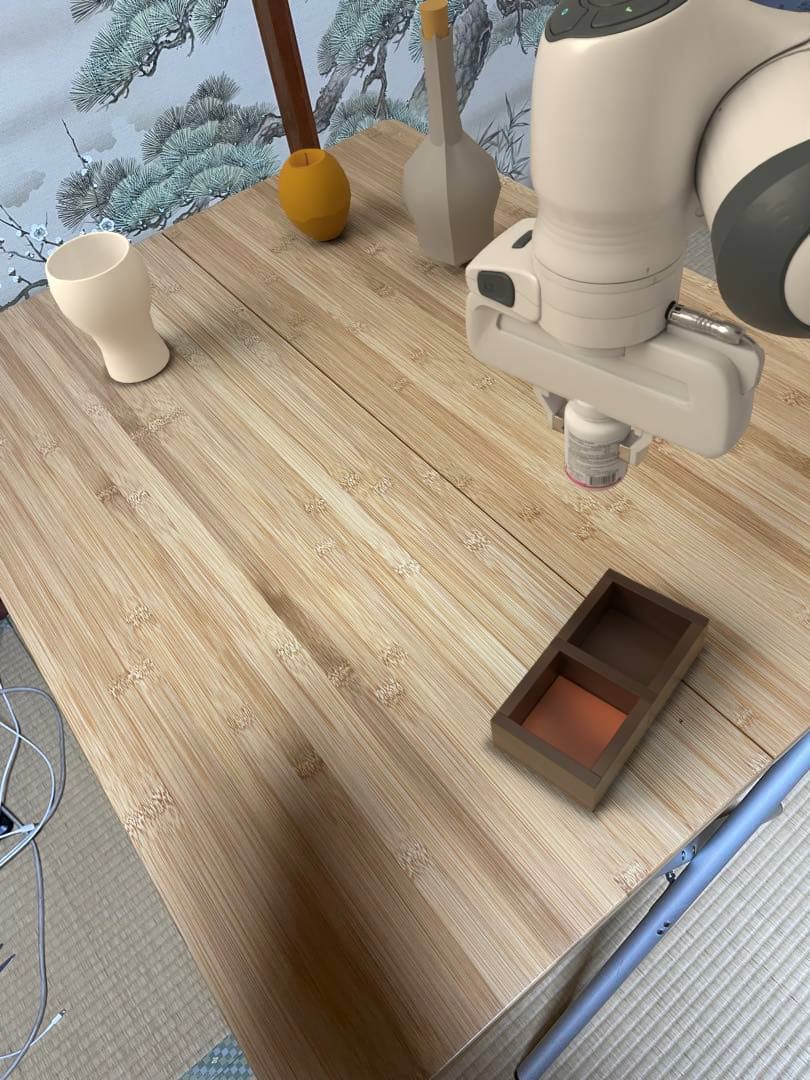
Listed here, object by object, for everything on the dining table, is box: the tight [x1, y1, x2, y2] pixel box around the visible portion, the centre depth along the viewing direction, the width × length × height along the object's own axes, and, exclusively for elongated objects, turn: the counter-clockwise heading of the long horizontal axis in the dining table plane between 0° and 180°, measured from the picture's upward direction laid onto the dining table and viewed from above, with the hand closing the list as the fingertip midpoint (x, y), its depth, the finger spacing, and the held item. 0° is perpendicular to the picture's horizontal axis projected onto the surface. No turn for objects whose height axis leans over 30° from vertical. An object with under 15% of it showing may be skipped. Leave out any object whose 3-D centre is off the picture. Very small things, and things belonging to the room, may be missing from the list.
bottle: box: [401, 0, 503, 269], centre depth 95 cm, size 11×11×30 cm
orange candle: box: [277, 148, 352, 242], centre depth 111 cm, size 10×10×12 cm
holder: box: [489, 567, 711, 813], centre depth 66 cm, size 17×9×5 cm, turn 141°
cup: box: [44, 231, 171, 384], centre depth 97 cm, size 11×11×15 cm
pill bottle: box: [563, 399, 632, 492], centre depth 61 cm, size 5×5×8 cm
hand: (595, 441), depth 62 cm, fingers closed on pill bottle, 4 cm apart
